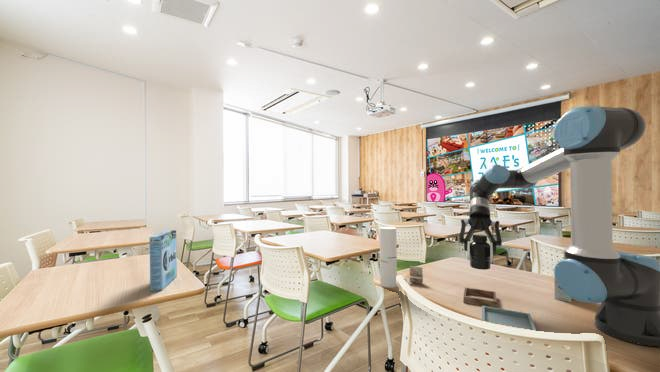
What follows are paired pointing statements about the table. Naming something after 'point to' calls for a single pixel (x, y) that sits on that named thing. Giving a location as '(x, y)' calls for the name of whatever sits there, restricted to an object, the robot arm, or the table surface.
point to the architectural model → (415, 274)
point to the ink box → (561, 293)
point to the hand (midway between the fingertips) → (479, 258)
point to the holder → (478, 300)
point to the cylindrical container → (388, 257)
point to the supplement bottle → (480, 252)
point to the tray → (507, 317)
